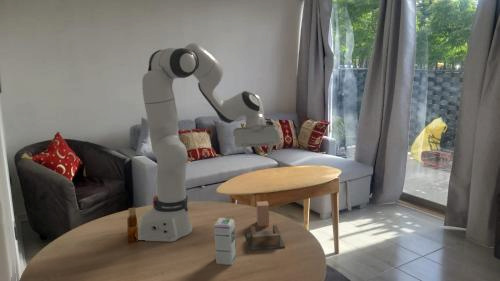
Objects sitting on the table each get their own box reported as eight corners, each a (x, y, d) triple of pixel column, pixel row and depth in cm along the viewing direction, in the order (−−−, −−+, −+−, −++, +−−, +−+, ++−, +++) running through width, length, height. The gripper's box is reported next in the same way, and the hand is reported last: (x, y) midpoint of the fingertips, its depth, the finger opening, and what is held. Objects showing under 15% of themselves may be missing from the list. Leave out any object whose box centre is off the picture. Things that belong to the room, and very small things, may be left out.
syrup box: (232, 265, 130) (231, 225, 127) (215, 263, 131) (213, 224, 128) (236, 256, 135) (235, 218, 132) (220, 255, 137) (218, 217, 133)
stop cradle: (249, 250, 140) (248, 238, 139) (246, 233, 152) (246, 222, 151) (284, 247, 141) (284, 236, 140) (279, 231, 153) (279, 220, 152)
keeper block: (258, 226, 158) (257, 205, 156) (256, 221, 163) (256, 201, 161) (268, 225, 159) (268, 205, 157) (267, 221, 163) (267, 201, 161)
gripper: (232, 124, 170) (234, 151, 163) (278, 122, 172) (282, 148, 165) (232, 131, 176) (234, 158, 169) (277, 130, 177) (281, 156, 170)
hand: (258, 153), depth 167 cm, fingers open, 8 cm apart
